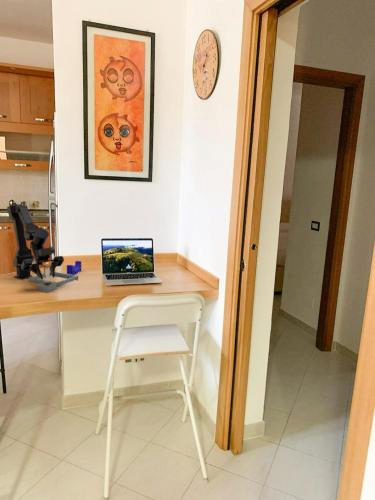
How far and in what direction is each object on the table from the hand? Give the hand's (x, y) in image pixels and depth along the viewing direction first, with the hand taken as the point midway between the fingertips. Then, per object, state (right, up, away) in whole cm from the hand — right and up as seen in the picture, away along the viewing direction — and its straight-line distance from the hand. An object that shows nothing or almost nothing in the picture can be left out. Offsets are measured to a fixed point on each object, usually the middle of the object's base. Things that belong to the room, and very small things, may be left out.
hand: (48, 278), depth 175 cm
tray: (-4, -4, +19) cm, 20 cm away
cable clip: (0, 0, +39) cm, 39 cm away
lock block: (-1, -7, +3) cm, 8 cm away
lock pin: (-1, -6, +2) cm, 6 cm away
